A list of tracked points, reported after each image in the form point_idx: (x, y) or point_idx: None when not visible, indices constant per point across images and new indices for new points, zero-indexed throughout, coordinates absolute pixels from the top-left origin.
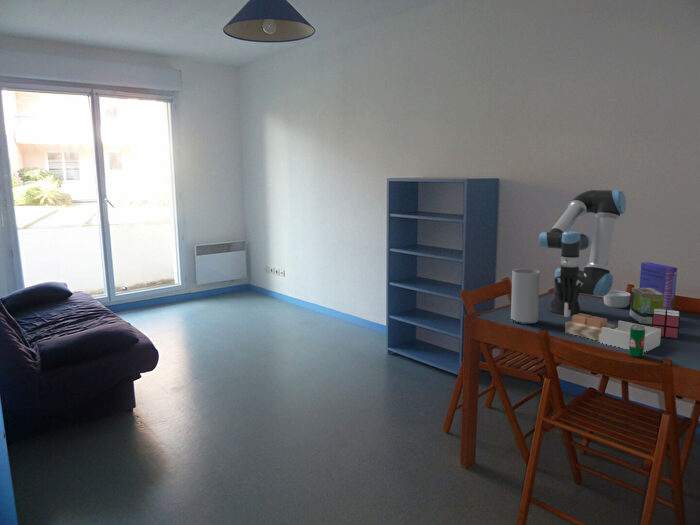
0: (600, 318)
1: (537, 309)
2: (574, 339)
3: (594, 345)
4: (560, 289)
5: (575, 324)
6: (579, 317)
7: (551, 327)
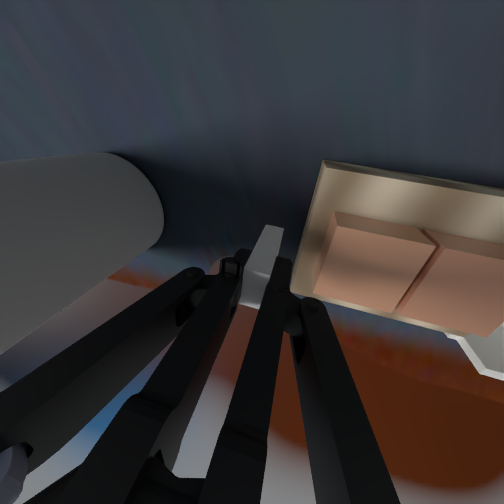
0: (498, 285)
1: (121, 224)
2: (341, 310)
3: (414, 337)
4: (131, 369)
5: (336, 301)
6: (353, 302)
7: (227, 223)
